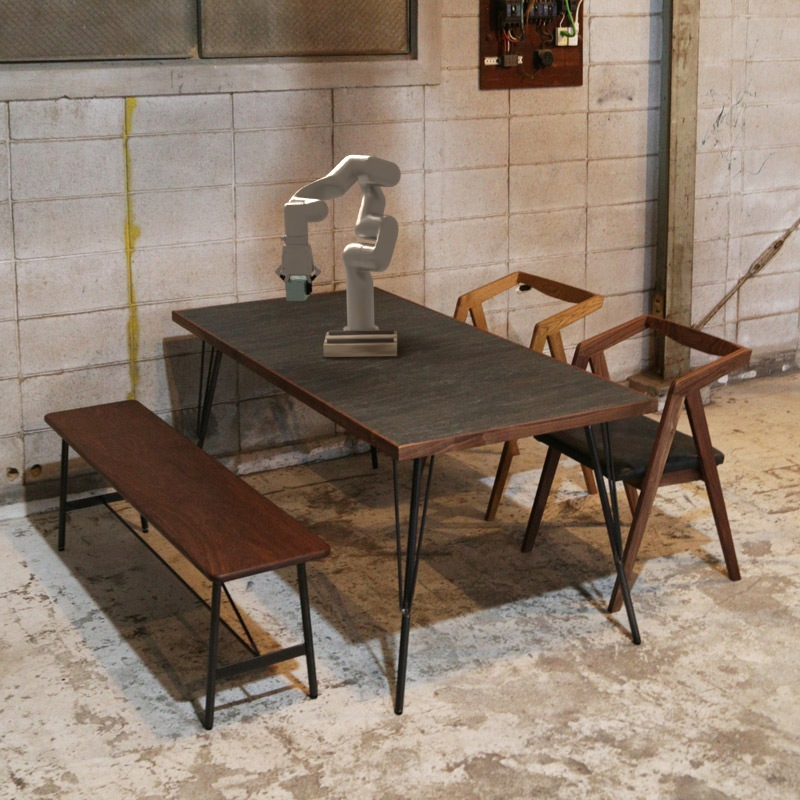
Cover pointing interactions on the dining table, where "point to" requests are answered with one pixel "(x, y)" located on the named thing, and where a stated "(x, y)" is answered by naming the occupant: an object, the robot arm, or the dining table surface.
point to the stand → (360, 343)
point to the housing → (296, 288)
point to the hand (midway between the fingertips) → (299, 293)
